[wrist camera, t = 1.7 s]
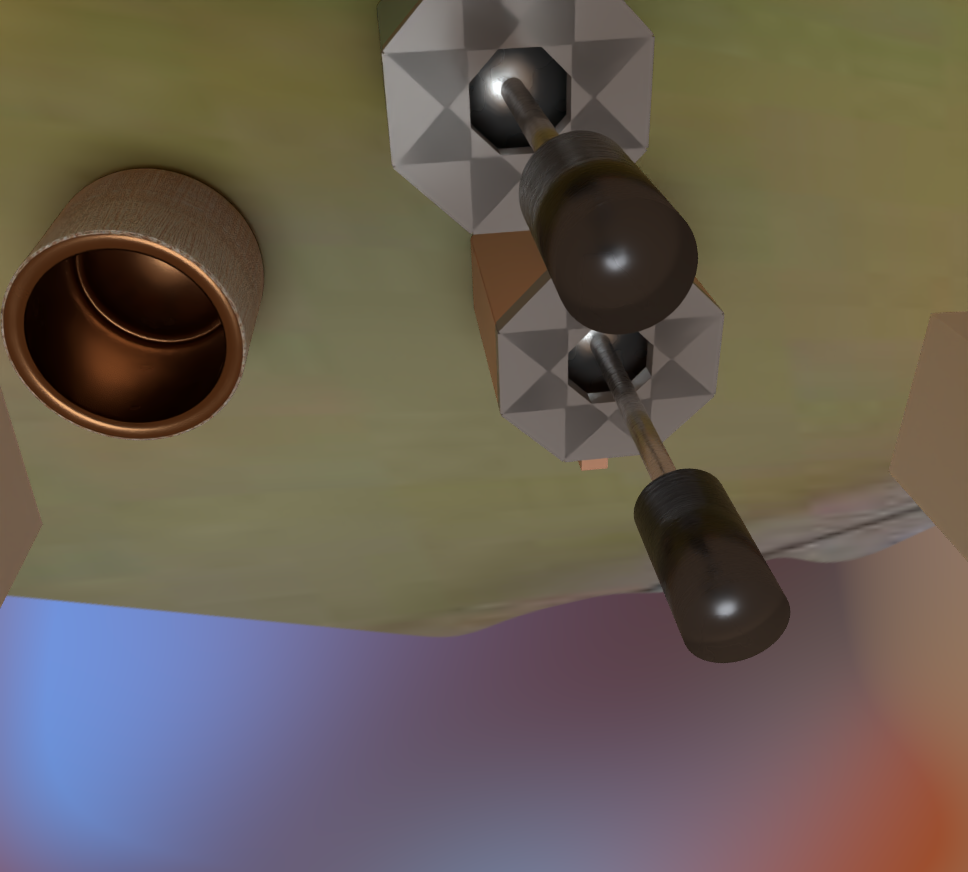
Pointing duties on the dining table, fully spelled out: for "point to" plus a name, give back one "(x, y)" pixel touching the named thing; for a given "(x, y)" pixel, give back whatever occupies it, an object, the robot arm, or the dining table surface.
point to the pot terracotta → (554, 333)
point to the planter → (136, 306)
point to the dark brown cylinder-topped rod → (584, 201)
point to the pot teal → (461, 55)
